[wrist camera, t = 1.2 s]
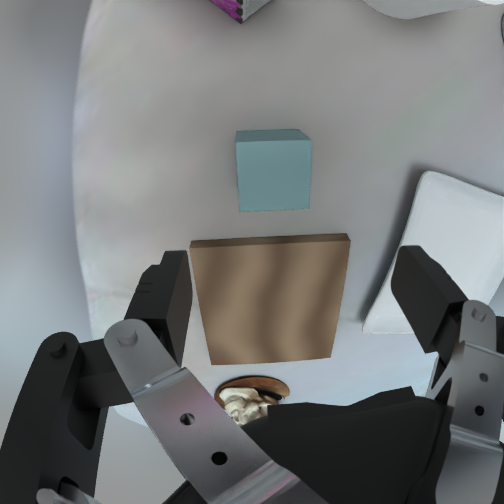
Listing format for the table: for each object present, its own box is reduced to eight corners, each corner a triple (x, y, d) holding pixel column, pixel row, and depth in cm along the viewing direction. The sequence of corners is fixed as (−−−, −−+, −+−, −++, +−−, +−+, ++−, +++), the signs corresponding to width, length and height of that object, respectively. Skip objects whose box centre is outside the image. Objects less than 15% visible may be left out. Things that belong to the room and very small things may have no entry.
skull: (196, 405, 46) (217, 431, 37) (225, 353, 49) (253, 368, 40) (252, 427, 50) (281, 451, 41) (279, 379, 53) (313, 396, 44)
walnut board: (346, 233, 32) (350, 240, 30) (328, 349, 41) (330, 357, 40) (191, 240, 31) (189, 248, 30) (212, 356, 41) (211, 365, 39)
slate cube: (298, 129, 26) (311, 140, 21) (298, 186, 29) (309, 208, 24) (236, 131, 26) (235, 142, 21) (240, 188, 29) (239, 211, 24)
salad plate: (464, 317, 40) (474, 331, 37) (352, 318, 38) (360, 336, 36) (520, 197, 30) (535, 207, 27) (407, 158, 28) (424, 168, 25)
